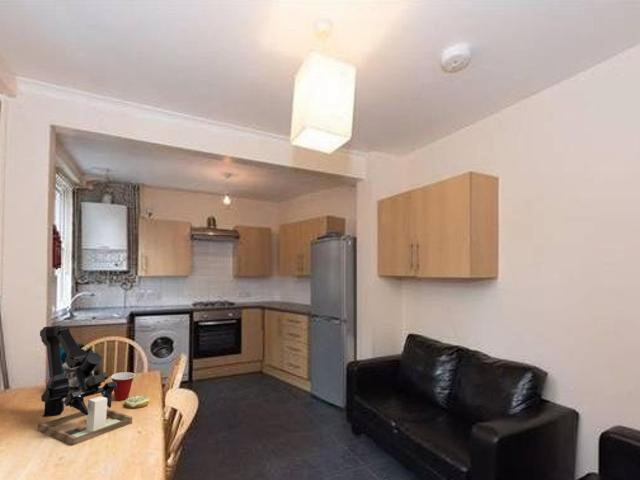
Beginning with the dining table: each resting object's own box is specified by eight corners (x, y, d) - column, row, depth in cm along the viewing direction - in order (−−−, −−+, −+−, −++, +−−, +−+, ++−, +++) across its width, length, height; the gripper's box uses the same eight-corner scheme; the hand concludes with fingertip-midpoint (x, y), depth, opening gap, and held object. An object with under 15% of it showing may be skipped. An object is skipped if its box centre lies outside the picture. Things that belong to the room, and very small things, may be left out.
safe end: (64, 438, 142) (64, 437, 142) (116, 419, 160) (116, 419, 160) (75, 443, 138) (75, 442, 138) (127, 423, 156) (127, 422, 156)
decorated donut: (132, 411, 170) (132, 403, 170) (120, 406, 176) (120, 398, 177) (153, 404, 179) (153, 396, 179) (141, 400, 185) (141, 392, 185)
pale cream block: (86, 430, 149) (88, 399, 150) (98, 425, 153) (100, 396, 154) (93, 433, 146) (95, 401, 147) (105, 428, 150) (107, 398, 151)
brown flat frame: (37, 429, 149) (38, 423, 149) (96, 410, 169) (97, 405, 170) (73, 445, 136) (73, 438, 136) (132, 423, 157) (132, 416, 157)
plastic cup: (119, 404, 178) (120, 379, 179) (104, 400, 182) (106, 376, 183) (138, 397, 187) (140, 373, 188) (124, 394, 192) (125, 370, 193)
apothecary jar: (86, 387, 202) (89, 354, 204) (87, 393, 192) (90, 358, 194) (59, 391, 195) (62, 356, 197) (59, 397, 185) (62, 361, 187)
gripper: (70, 372, 145) (84, 406, 139) (116, 362, 162) (130, 392, 155) (58, 389, 148) (71, 423, 142) (104, 377, 165) (117, 408, 158)
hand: (99, 410), depth 149 cm, fingers open, 9 cm apart
